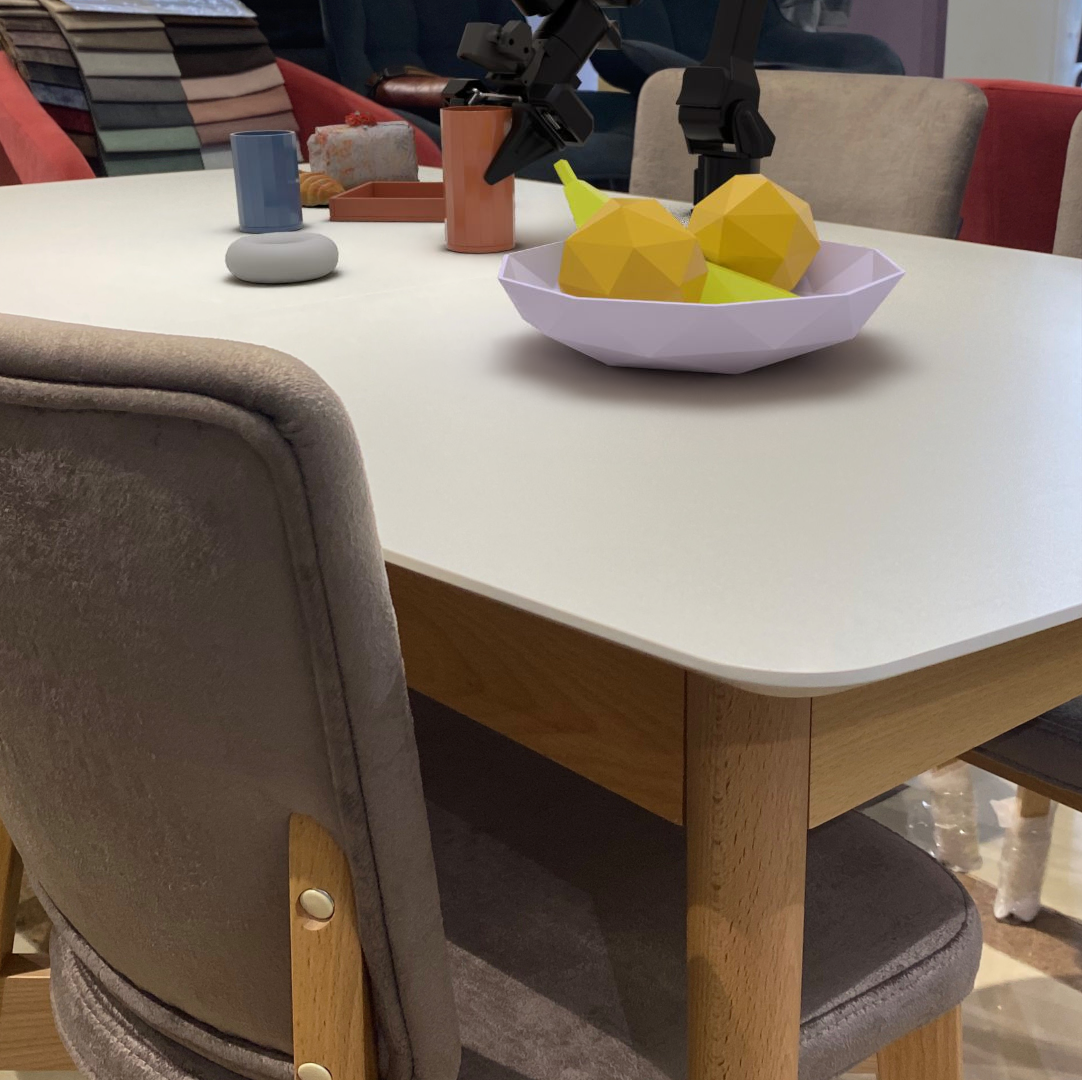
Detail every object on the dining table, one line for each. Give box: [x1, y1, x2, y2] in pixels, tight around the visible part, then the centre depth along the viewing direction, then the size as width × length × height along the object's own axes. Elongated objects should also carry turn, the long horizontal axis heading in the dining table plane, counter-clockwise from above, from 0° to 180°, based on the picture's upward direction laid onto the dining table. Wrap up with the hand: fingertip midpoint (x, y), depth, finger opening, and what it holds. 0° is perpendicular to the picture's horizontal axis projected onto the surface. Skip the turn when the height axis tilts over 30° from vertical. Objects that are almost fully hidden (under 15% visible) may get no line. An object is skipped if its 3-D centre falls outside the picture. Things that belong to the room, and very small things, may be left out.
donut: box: [224, 231, 340, 284], centre depth 115 cm, size 10×4×10 cm
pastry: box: [299, 169, 345, 207], centre depth 159 cm, size 9×7×4 cm
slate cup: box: [229, 129, 304, 234], centre depth 140 cm, size 7×7×10 cm
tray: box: [328, 181, 445, 223], centre depth 151 cm, size 17×15×2 cm
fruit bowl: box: [497, 158, 907, 376], centre depth 87 cm, size 28×27×11 cm
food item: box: [306, 110, 421, 191], centre depth 170 cm, size 14×8×10 cm, turn 110°
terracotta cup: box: [439, 106, 517, 254], centre depth 126 cm, size 7×7×13 cm
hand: (466, 179), depth 125 cm, fingers closed on terracotta cup, 7 cm apart
